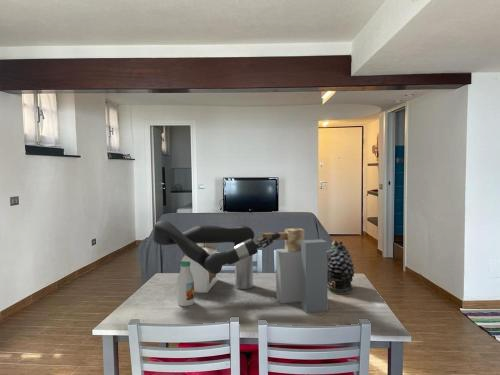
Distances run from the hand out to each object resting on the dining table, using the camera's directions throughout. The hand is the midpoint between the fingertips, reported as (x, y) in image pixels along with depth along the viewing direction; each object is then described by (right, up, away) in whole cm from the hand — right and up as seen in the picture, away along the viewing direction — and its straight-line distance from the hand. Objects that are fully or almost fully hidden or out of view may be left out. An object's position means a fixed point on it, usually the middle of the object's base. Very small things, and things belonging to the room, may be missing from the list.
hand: (278, 234), depth 166 cm
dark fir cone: (+33, -31, +16) cm, 48 cm away
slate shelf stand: (+10, -32, -4) cm, 34 cm away
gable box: (-40, -32, +25) cm, 57 cm away
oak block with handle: (+2, -8, +1) cm, 8 cm away
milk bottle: (-44, -33, -1) cm, 55 cm away
